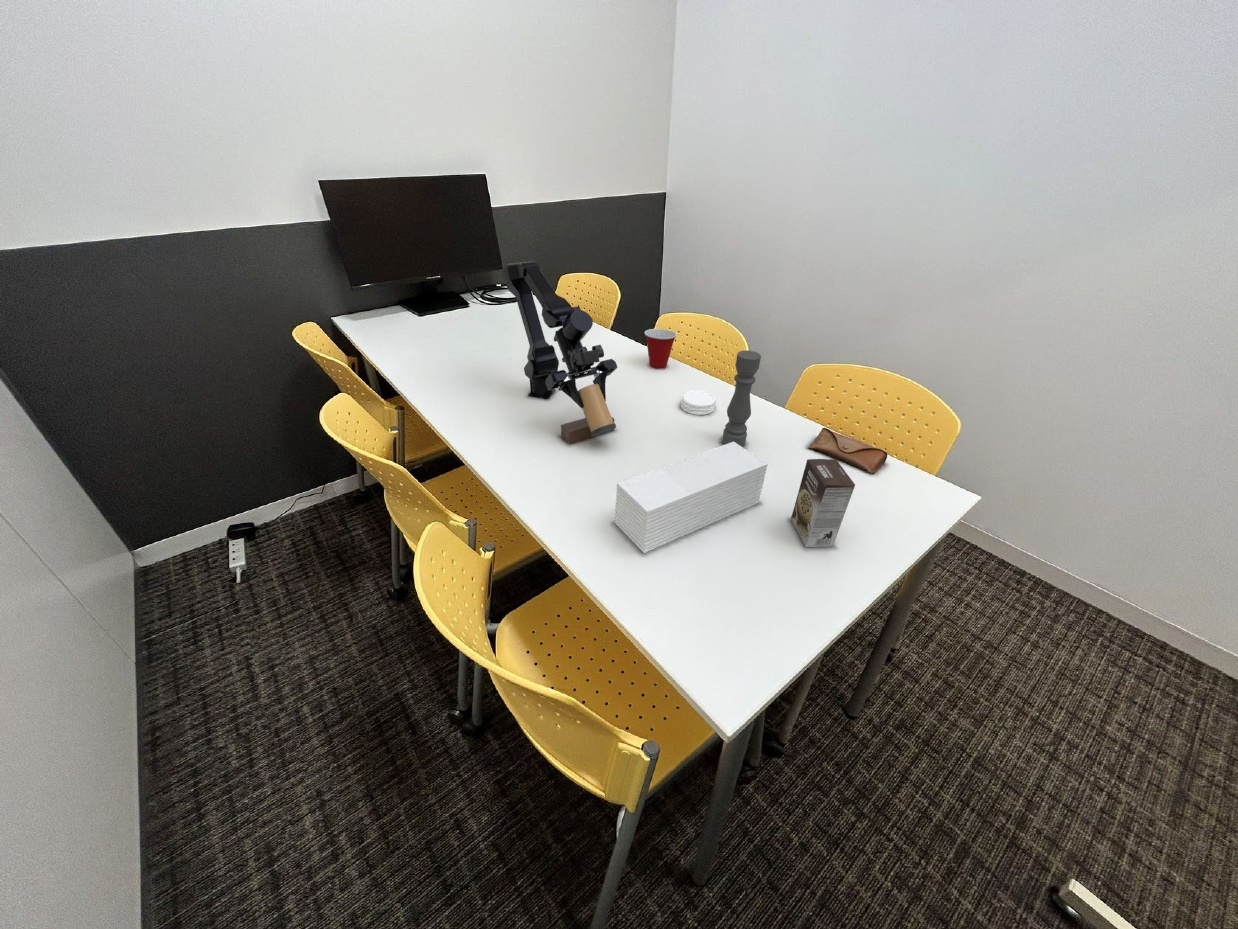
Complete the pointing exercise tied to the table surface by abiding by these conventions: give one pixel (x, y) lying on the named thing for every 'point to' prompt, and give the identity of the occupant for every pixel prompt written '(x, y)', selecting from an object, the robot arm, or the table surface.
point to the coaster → (698, 402)
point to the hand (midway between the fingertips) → (593, 404)
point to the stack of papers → (688, 495)
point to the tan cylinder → (596, 410)
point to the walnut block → (577, 431)
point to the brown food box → (821, 502)
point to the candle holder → (741, 398)
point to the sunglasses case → (849, 451)
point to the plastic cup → (659, 346)
